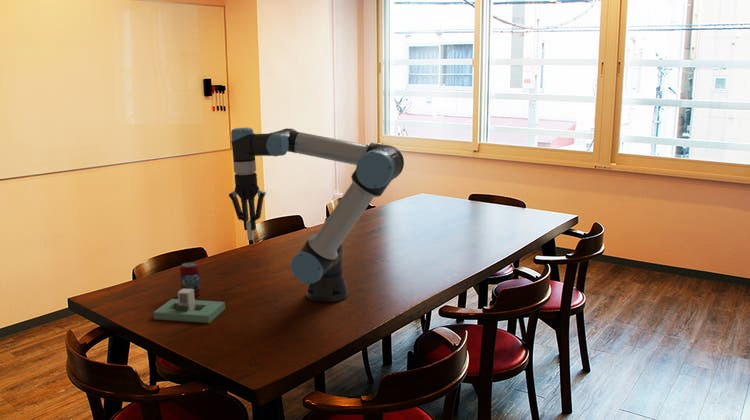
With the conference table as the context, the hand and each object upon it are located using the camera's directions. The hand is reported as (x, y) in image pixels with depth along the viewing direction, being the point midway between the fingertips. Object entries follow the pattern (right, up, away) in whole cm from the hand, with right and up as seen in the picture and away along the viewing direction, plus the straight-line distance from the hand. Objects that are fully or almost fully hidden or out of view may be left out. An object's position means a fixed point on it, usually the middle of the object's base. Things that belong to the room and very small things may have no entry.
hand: (251, 238), depth 241 cm
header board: (-20, -26, -5) cm, 33 cm away
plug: (-21, -25, -5) cm, 33 cm away
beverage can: (-24, -22, +13) cm, 35 cm away
